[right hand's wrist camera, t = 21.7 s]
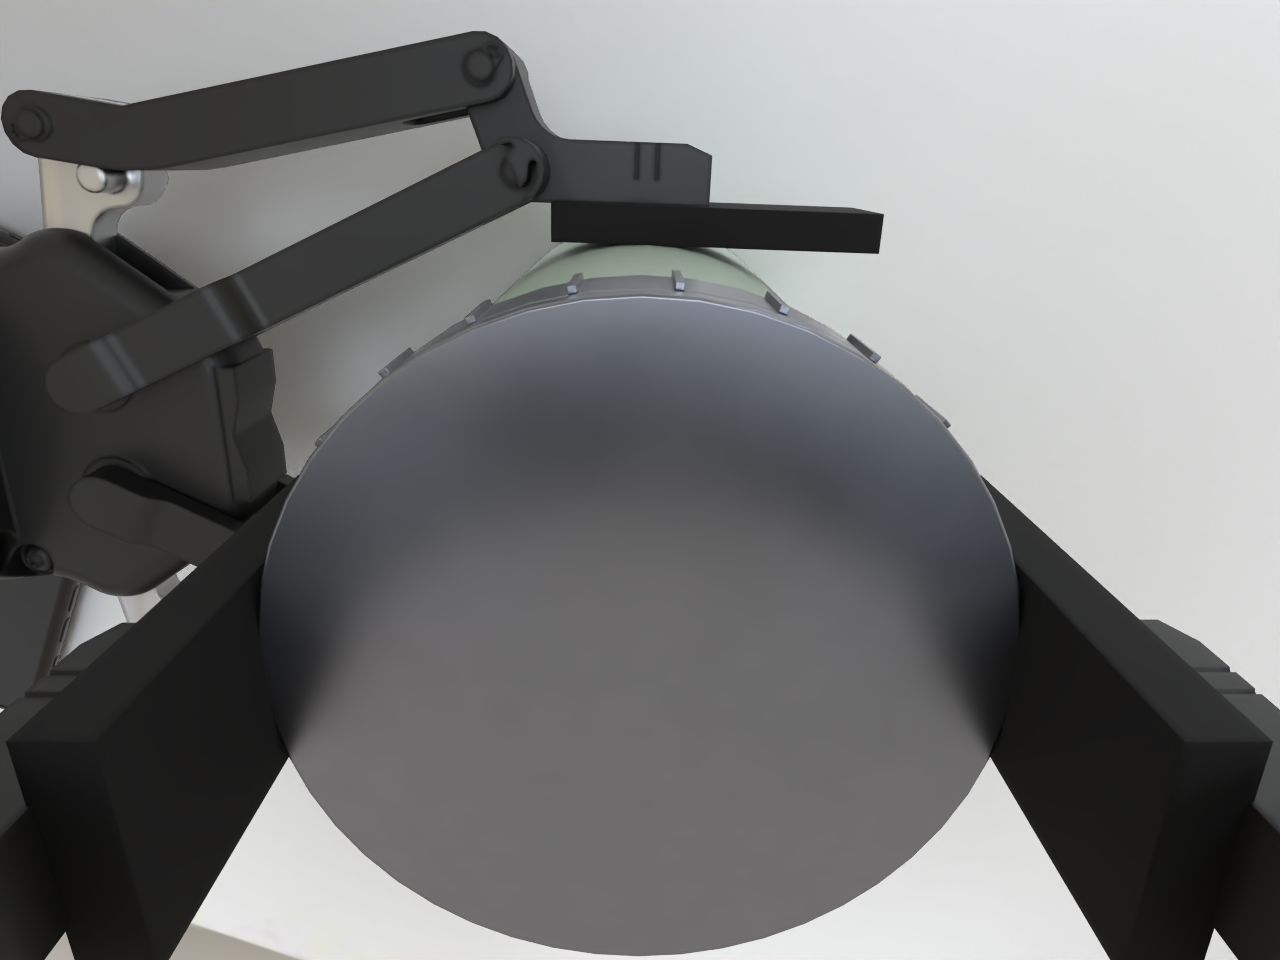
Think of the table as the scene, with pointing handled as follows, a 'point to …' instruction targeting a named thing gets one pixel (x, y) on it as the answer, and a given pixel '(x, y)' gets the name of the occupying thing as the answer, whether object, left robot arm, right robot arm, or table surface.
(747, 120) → the table surface
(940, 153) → the table surface
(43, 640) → the smartphone
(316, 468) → the lid
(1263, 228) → the table surface
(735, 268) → the jar
